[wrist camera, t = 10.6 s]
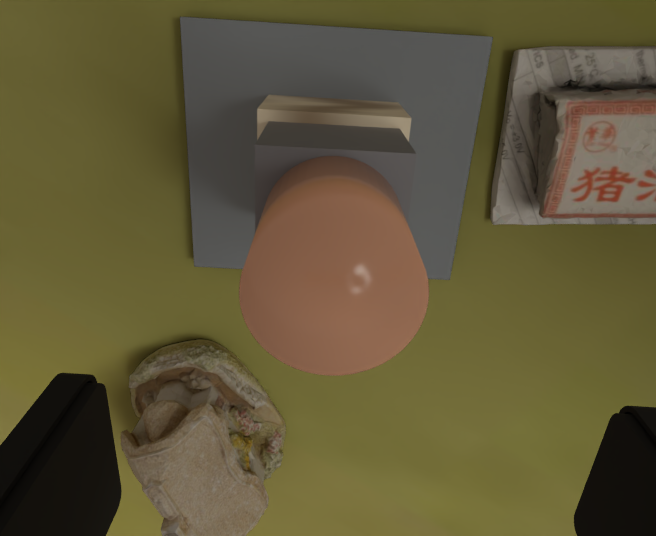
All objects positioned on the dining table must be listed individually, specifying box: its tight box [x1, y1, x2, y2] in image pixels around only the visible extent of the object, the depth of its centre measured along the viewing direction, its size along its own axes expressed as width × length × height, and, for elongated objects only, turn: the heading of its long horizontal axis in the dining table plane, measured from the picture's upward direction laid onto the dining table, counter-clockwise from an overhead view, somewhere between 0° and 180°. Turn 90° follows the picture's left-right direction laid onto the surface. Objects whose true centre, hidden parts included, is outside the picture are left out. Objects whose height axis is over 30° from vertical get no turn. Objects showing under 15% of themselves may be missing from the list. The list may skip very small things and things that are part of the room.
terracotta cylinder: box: [239, 156, 429, 375], centre depth 18 cm, size 6×6×6 cm
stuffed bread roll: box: [121, 339, 286, 536], centre depth 35 cm, size 14×11×10 cm
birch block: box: [257, 95, 412, 142], centre depth 27 cm, size 7×7×5 cm
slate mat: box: [180, 17, 493, 280], centre depth 30 cm, size 16×14×1 cm
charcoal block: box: [255, 121, 417, 232], centre depth 23 cm, size 6×6×5 cm
